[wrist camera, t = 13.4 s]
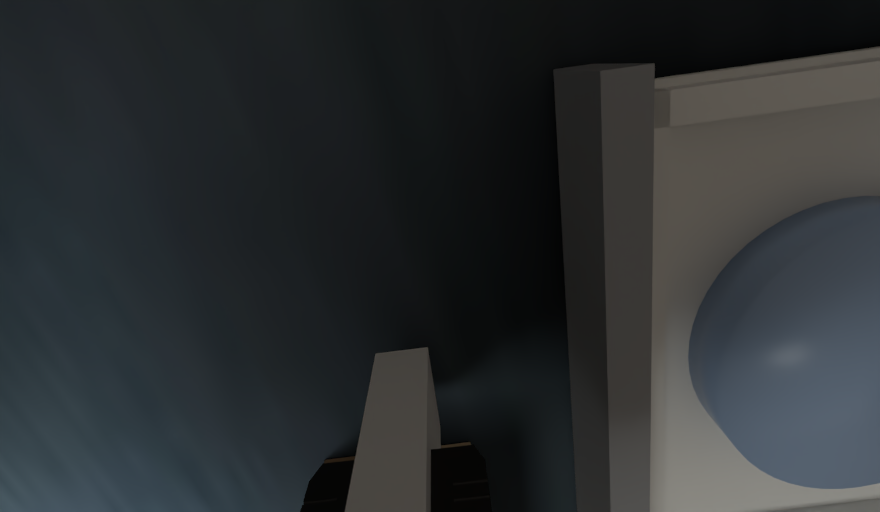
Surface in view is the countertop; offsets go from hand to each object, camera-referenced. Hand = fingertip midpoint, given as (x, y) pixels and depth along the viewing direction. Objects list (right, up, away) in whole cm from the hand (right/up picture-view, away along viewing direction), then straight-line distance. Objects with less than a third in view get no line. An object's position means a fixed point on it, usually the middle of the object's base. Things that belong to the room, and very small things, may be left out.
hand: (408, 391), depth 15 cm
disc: (+12, +2, 0) cm, 12 cm away
